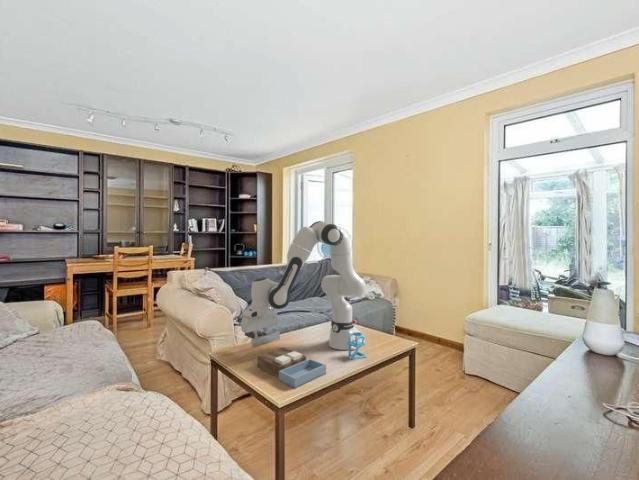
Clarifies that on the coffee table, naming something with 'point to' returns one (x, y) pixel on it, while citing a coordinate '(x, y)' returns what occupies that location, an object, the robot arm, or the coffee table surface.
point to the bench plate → (272, 367)
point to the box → (302, 373)
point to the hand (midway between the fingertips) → (260, 337)
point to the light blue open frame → (356, 345)
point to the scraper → (263, 338)
